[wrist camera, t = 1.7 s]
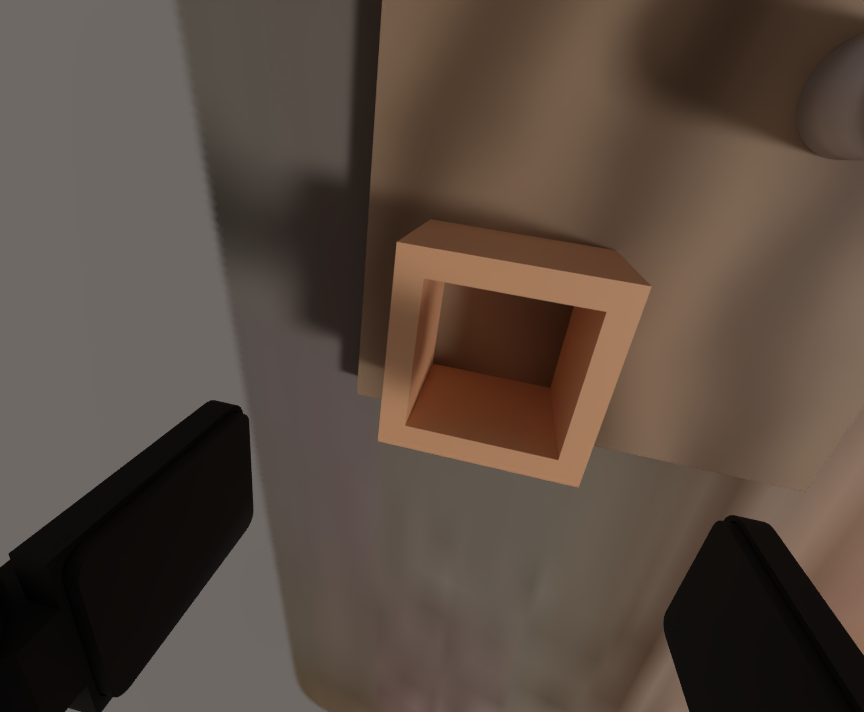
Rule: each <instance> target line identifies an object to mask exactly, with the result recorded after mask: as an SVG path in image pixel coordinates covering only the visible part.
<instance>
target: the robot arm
mask: <svg viewBox="0 0 864 712" xmlns="http://www.w3.org/2000/svg"><path fill="white" fill-rule="evenodd" d="M251 473H252V472H251V451H250V431H249V418H248V416H247V415H245V414H243V411H242V409H241V407H239V406H238V405H233V404H229V403H224V402H219V401H215V400H211V401H209V402H207V403H205V404H204V405H203V406H201V407H200V408H199V409H197V410H196V411H195V412H194V413H192V414H191V415H190V416H188V417H187V418H186V419H184V420H183V421H182V422H180V423H179V424H178V425H176V426H175V427H174V428H172V429H171V430H170V431H169V432H167V433H166V434H165V435H163V436H162V437H161V438H160V439H158V440H157V441H156V442H154V443H153V444H152V445H150V446H149V447H148V448H146V449H145V450H144V451H143V452H141V453H140V454H138V455H137V456H136V457H134V458H133V459H132V460H131V461H129V462H128V463H127V464H125V465H124V466H123V467H121V468H120V469H119V470H117V471H116V472H115V473H114V474H112V475H111V476H110V477H108V478H107V479H106V480H104V481H103V482H102V483H100V484H99V485H98V486H96V487H95V488H94V489H93V490H91V491H90V492H89V493H87V494H86V495H85V496H83V497H82V498H81V499H79V500H78V501H77V502H76V503H74V504H73V505H72V506H70V507H69V508H68V509H66V510H65V511H64V512H62V513H61V514H60V515H59V516H57V517H56V518H55V519H53V520H52V521H51V522H49V523H48V524H47V525H46V526H44V527H43V528H42V529H40V530H39V531H38V532H36V533H35V534H34V535H32V536H31V537H30V538H28V539H27V540H26V541H24V542H23V543H22V544H20V545H19V546H18V547H17V548H15V549H14V550H13V551H11V552H10V553H9V557H10V560H9V561H8V562H6V563H5V564H4V565H3V566H1V567H0V712H65V711H66V710H67V708H71V709H74V710H77V711H81V712H102V710H103V709H104V708H105V706H106V705H107V704H108V703H109V701H110V700H111V699H112V697H119V696H121V695H122V694H123V693H125V691H127V690H128V688H129V687H130V686H131V685H132V683H133V682H134V681H135V679H136V678H137V676H138V675H139V674H140V673H141V671H142V670H143V668H144V667H145V666H146V665H147V663H148V662H149V661H150V659H151V658H152V656H153V655H154V654H155V652H156V651H157V650H158V648H159V647H160V646H161V644H162V643H163V642H164V640H165V639H166V638H167V636H168V635H169V634H170V632H171V631H172V630H173V628H174V627H175V625H176V624H177V623H178V621H179V620H180V619H181V617H182V616H183V614H184V613H185V612H186V611H187V609H188V608H189V607H190V605H191V604H192V602H193V601H194V599H195V598H196V597H197V596H198V595H199V593H200V592H201V590H202V589H203V588H204V586H205V585H206V584H207V582H208V581H209V580H210V578H211V577H212V576H213V574H214V573H215V571H216V570H217V569H218V568H219V566H220V565H221V564H222V562H223V561H224V559H225V558H226V557H227V555H228V554H229V553H230V551H231V550H232V549H233V547H234V546H235V545H236V543H237V542H238V541H239V539H240V538H241V537H242V535H243V534H244V532H245V531H246V529H247V528H248V527H249V525H250V523H251V520H252V517H253V493H252V474H251ZM664 632H665V636H666V640H667V643H668V646H669V649H670V652H671V655H672V658H673V662H674V665H675V668H676V671H677V674H678V677H679V680H680V684H681V687H682V690H683V693H684V696H685V699H686V702H687V706H688V709H689V712H864V655H863V654H862V652H861V651H860V650H859V648H858V647H857V645H856V644H855V643H854V641H853V640H852V638H851V637H850V636H849V634H848V633H847V631H846V630H845V628H844V627H843V626H842V624H841V623H840V621H839V620H838V619H837V617H836V616H835V614H834V613H833V612H832V610H831V609H830V607H829V606H828V605H827V603H826V602H825V600H824V599H823V598H822V596H821V595H820V593H819V592H818V590H817V589H816V588H815V586H814V585H813V583H812V582H811V581H810V579H809V578H808V576H807V575H806V574H805V572H804V571H803V569H802V568H801V567H800V565H799V564H798V562H797V561H796V560H795V558H794V557H793V555H792V554H791V553H790V551H789V550H788V548H787V547H786V545H785V544H784V543H783V541H782V540H781V538H780V537H779V536H778V534H777V533H776V531H775V530H774V529H773V528H772V527H771V526H770V525H769V524H768V523H765V522H762V521H758V520H753V519H748V518H744V517H739V516H735V515H730V516H728V517H726V518H725V519H724V521H717V522H716V523H715V524H714V525H713V527H712V529H711V531H710V532H709V534H708V536H707V538H706V540H705V541H704V543H703V545H702V547H701V549H700V551H699V552H698V554H697V556H696V558H695V560H694V562H693V563H692V565H691V567H690V569H689V571H688V572H687V574H686V576H685V578H684V580H683V582H682V583H681V585H680V587H679V589H678V591H677V593H676V594H675V596H674V598H673V600H672V602H671V603H670V605H669V607H668V609H667V611H666V613H665V616H664Z"/></svg>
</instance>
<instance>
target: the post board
mask: <svg viewBox="0 0 864 712" xmlns="http://www.w3.org/2000/svg"><path fill="white" fill-rule="evenodd" d="M430 219H432V220H438V221H444V222H450V223H456V224H462V225H468V226H474V227H480V228H486V229H492V230H498V231H504V232H510V233H516V234H522V235H528V236H534V237H540V238H546V239H552V240H558V241H564V242H570V243H576V244H582V245H588V246H594V247H600V248H606V249H612V250H617V252H618V253H619V254H620V255H621V256H622V257H623V258H624V259H625V260H626V261H627V262H628V263H629V264H630V265H631V266H632V267H633V268H634V269H635V270H636V271H637V272H638V273H639V274H640V275H641V276H642V277H643V278H644V279H645V280H646V281H647V282H648V283H649V284H650V285H651V286H652V287H651V290H650V293H649V296H648V298H647V301H646V304H645V307H644V309H643V312H642V315H641V318H640V320H639V323H638V326H637V329H636V331H635V334H634V337H633V340H632V342H631V345H630V348H629V350H628V353H627V356H626V359H625V361H624V364H623V367H622V370H621V372H620V375H619V378H618V381H617V383H616V386H615V389H614V392H613V394H612V397H611V400H610V403H609V405H608V408H607V411H606V414H605V416H604V419H603V422H602V424H601V427H600V430H599V433H598V435H597V438H596V441H595V444H594V446H598V447H602V448H607V449H611V450H616V451H620V452H625V453H629V454H634V455H639V456H643V457H648V458H652V459H657V460H661V461H666V462H670V463H675V464H680V465H684V466H689V467H693V468H698V469H702V470H707V471H711V472H716V473H721V474H725V475H730V476H734V477H739V478H743V479H748V480H753V481H757V482H762V483H766V484H771V485H775V486H780V487H784V488H789V489H794V490H798V491H803V492H807V490H808V489H809V487H810V486H811V484H812V483H813V481H814V480H815V478H816V477H817V476H818V474H819V473H820V471H821V470H822V468H823V467H824V465H825V464H826V462H827V461H828V459H829V458H830V456H831V455H832V453H833V452H834V450H835V449H836V447H837V446H838V444H839V443H840V441H841V440H842V438H843V437H844V435H845V434H846V432H847V431H848V429H849V428H850V426H851V425H852V423H853V422H854V420H855V419H856V417H857V416H858V414H859V413H860V411H861V410H862V408H863V407H864V0H382V11H381V26H380V42H379V57H378V73H377V88H376V104H375V119H374V135H373V150H372V166H371V181H370V197H369V212H368V228H367V243H366V259H365V274H364V290H363V305H362V321H361V336H360V352H359V367H358V383H357V394H360V395H365V396H370V397H374V398H379V399H382V392H383V382H384V371H385V361H386V350H387V339H388V329H389V318H390V308H391V297H392V287H393V276H394V265H395V255H396V244H397V241H399V240H400V239H402V238H403V237H405V236H406V235H408V234H409V233H411V232H412V231H414V230H415V229H417V228H418V227H420V226H421V225H423V224H424V223H426V222H427V221H429V220H430ZM573 308H574V306H571V305H566V304H560V303H555V302H550V301H544V300H539V299H533V298H528V297H522V296H517V295H511V294H506V293H501V292H495V291H490V290H484V289H479V288H473V287H468V286H462V285H457V284H452V283H446V282H445V284H444V291H443V298H442V304H441V311H440V318H439V325H438V331H437V338H436V345H435V352H434V358H433V364H437V365H442V366H447V367H452V368H456V369H461V370H466V371H471V372H476V373H481V374H485V375H490V376H495V377H500V378H505V379H510V380H514V381H519V382H524V383H529V384H534V385H539V386H543V387H548V388H550V387H551V384H552V380H553V377H554V373H555V370H556V366H557V363H558V360H559V356H560V353H561V349H562V346H563V342H564V339H565V335H566V332H567V329H568V325H569V322H570V318H571V315H572V311H573Z"/></svg>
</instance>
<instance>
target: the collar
mask: <svg viewBox="0 0 864 712" xmlns="http://www.w3.org/2000/svg"><path fill="white" fill-rule="evenodd" d="M445 282H446V283H452V284H457V285H462V286H468V287H473V288H479V289H484V290H490V291H495V292H501V293H506V294H511V295H517V296H522V297H528V298H533V299H539V300H544V301H550V302H555V303H560V304H566V305H571V306H574V308H573V311H572V315H571V318H570V322H569V325H568V329H567V332H566V335H565V339H564V342H563V346H562V349H561V353H560V356H559V360H558V363H557V366H556V370H555V373H554V377H553V380H552V384H551V387H550V388H548V387H543V386H539V385H534V384H529V383H524V382H519V381H514V380H510V379H505V378H500V377H495V376H490V375H485V374H481V373H476V372H471V371H466V370H461V369H456V368H452V367H447V366H442V365H437V364H433V358H434V352H435V345H436V338H437V331H438V325H439V318H440V311H441V304H442V298H443V291H444V284H445ZM651 287H652V286H651V285H650V284H649V283H648V282H647V281H646V280H645V279H644V278H643V277H642V276H641V275H640V274H639V273H638V272H637V271H636V270H635V269H634V268H633V267H632V266H631V265H630V264H629V263H628V262H627V261H626V260H625V259H624V258H623V257H622V256H621V255H620V254H619V253H618V252H617V250H612V249H606V248H600V247H594V246H588V245H582V244H576V243H570V242H564V241H558V240H552V239H546V238H540V237H534V236H528V235H522V234H516V233H510V232H504V231H498V230H492V229H486V228H480V227H474V226H468V225H462V224H456V223H450V222H444V221H438V220H432V219H430V220H429V221H427V222H426V223H424V224H423V225H421V226H420V227H418V228H417V229H415V230H414V231H412V232H411V233H409V234H408V235H406V236H405V237H403V238H402V239H400V240H399V241H397V244H396V255H395V265H394V276H393V287H392V297H391V308H390V318H389V329H388V339H387V350H386V361H385V371H384V382H383V392H382V403H381V413H380V424H379V435H378V441H380V442H384V443H388V444H393V445H397V446H401V447H406V448H410V449H414V450H419V451H423V452H427V453H432V454H436V455H440V456H444V457H449V458H453V459H457V460H462V461H466V462H470V463H475V464H479V465H483V466H488V467H492V468H496V469H501V470H505V471H509V472H514V473H518V474H522V475H527V476H531V477H535V478H540V479H544V480H548V481H553V482H557V483H561V484H566V485H570V486H574V487H579V485H580V482H581V479H582V477H583V474H584V471H585V468H586V466H587V463H588V460H589V457H590V455H591V452H592V449H593V446H594V444H595V441H596V438H597V435H598V433H599V430H600V427H601V424H602V422H603V419H604V416H605V414H606V411H607V408H608V405H609V403H610V400H611V397H612V394H613V392H614V389H615V386H616V383H617V381H618V378H619V375H620V372H621V370H622V367H623V364H624V361H625V359H626V356H627V353H628V350H629V348H630V345H631V342H632V340H633V337H634V334H635V331H636V329H637V326H638V323H639V320H640V318H641V315H642V312H643V309H644V307H645V304H646V301H647V298H648V296H649V293H650V290H651Z"/></svg>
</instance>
